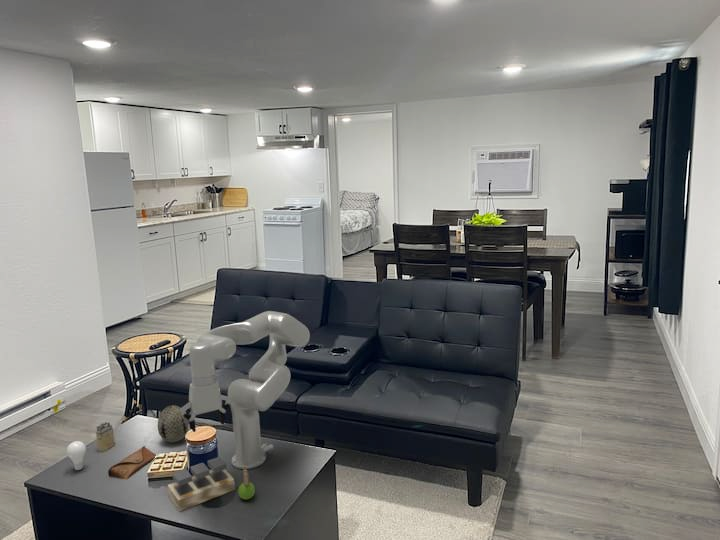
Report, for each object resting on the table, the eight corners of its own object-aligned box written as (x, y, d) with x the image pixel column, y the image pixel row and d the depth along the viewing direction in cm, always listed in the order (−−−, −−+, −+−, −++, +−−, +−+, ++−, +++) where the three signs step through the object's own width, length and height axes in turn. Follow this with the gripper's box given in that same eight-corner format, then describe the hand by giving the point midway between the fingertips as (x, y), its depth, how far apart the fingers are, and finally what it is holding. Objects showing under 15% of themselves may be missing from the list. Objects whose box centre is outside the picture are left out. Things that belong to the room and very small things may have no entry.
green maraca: (239, 506, 181) (236, 472, 178) (238, 495, 187) (235, 462, 184) (256, 502, 182) (254, 469, 180) (254, 491, 188) (252, 459, 186)
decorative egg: (195, 436, 228) (192, 402, 225) (176, 450, 217) (173, 414, 214) (173, 432, 232) (169, 398, 229) (152, 445, 222) (149, 410, 219)
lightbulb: (65, 473, 203) (61, 445, 201) (78, 464, 209) (75, 436, 207) (79, 475, 201) (75, 447, 199) (92, 466, 207) (88, 439, 205)
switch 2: (220, 465, 195) (219, 456, 194) (227, 472, 190) (226, 463, 189) (208, 469, 192) (207, 460, 192) (214, 477, 187) (214, 468, 187)
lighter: (110, 442, 225) (107, 419, 223) (117, 444, 223) (114, 421, 221) (96, 450, 219) (92, 427, 217) (103, 452, 217) (100, 429, 215)
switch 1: (186, 477, 188) (185, 468, 187) (192, 485, 183) (191, 476, 182) (173, 482, 185) (172, 473, 185) (179, 490, 181) (178, 480, 180)
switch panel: (222, 475, 199) (221, 465, 198) (235, 489, 190) (234, 478, 189) (168, 495, 188) (167, 484, 187) (179, 511, 179) (178, 499, 178)
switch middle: (203, 471, 191) (202, 462, 191) (210, 479, 187) (209, 469, 186) (191, 475, 189) (190, 466, 188) (197, 483, 184) (196, 474, 183)
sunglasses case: (126, 480, 197) (117, 464, 197) (114, 486, 200) (105, 470, 200) (161, 455, 214) (152, 440, 214) (149, 461, 216) (141, 446, 217)
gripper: (225, 370, 193) (229, 416, 197) (174, 381, 185) (179, 428, 188) (232, 377, 187) (236, 424, 190) (179, 388, 178) (184, 438, 182)
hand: (207, 426), depth 189 cm, fingers open, 9 cm apart
